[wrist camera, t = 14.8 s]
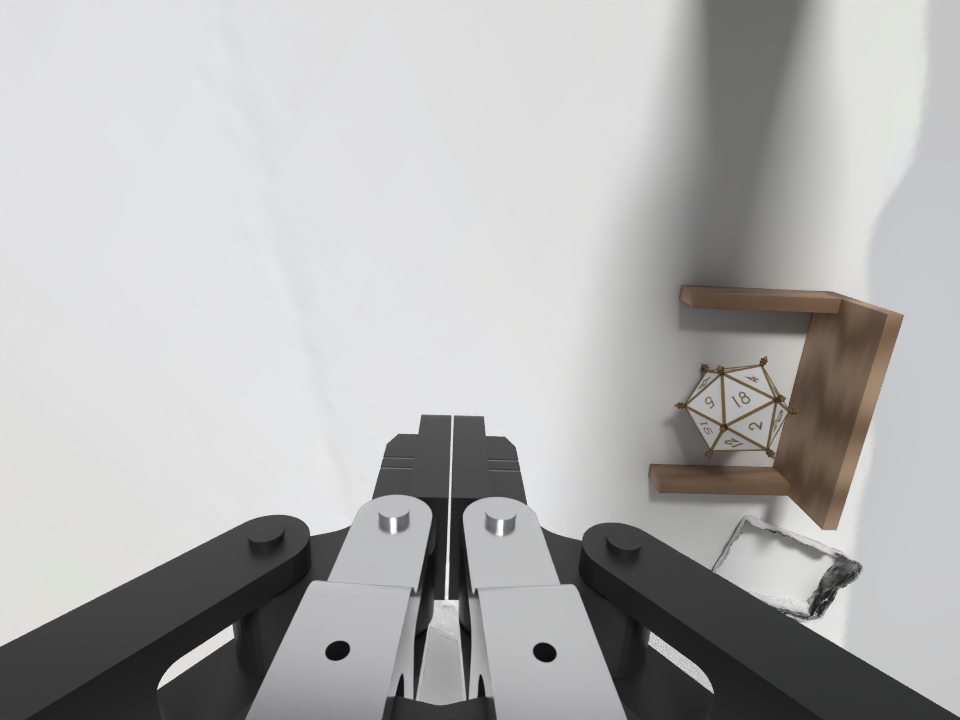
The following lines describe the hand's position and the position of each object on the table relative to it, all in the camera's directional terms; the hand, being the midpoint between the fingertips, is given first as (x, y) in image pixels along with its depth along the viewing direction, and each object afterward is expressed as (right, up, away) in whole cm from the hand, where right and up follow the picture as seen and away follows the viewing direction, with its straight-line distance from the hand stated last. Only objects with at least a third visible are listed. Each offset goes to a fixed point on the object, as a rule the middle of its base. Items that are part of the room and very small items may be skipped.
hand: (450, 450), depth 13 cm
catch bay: (+23, 0, +36) cm, 43 cm away
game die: (+22, 0, +36) cm, 42 cm away
